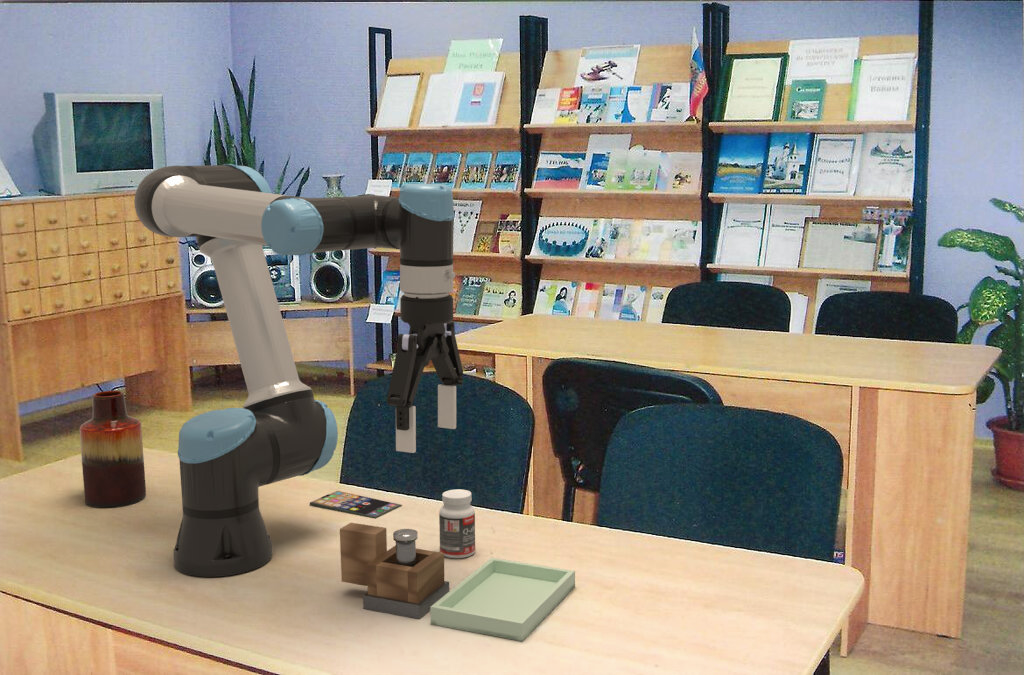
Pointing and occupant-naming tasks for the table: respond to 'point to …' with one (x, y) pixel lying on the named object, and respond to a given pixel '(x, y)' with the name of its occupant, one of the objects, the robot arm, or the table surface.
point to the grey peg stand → (408, 558)
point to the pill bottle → (457, 524)
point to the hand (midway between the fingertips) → (427, 439)
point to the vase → (112, 454)
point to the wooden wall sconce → (387, 565)
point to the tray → (503, 599)
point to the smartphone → (354, 504)
